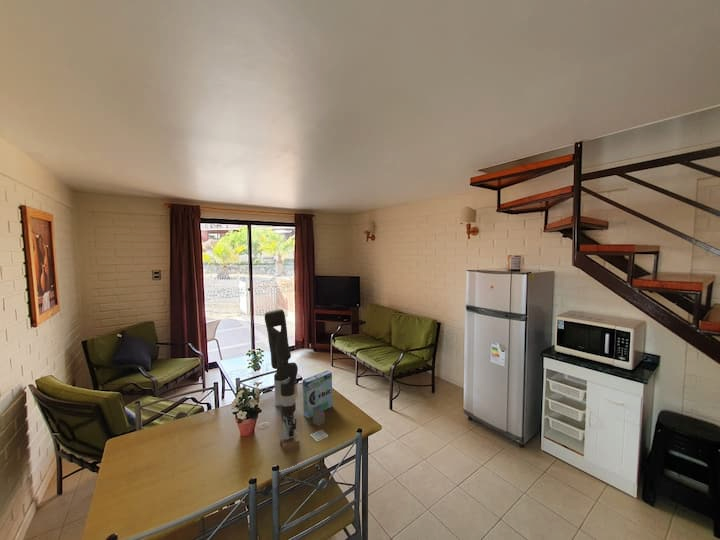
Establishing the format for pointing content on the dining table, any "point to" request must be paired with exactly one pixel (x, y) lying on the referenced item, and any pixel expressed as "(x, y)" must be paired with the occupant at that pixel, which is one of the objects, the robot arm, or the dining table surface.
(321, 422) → the translucent grey cup
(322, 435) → the swatch
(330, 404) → the gum box
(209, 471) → the dining table surface
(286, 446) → the walnut block
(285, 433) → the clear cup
